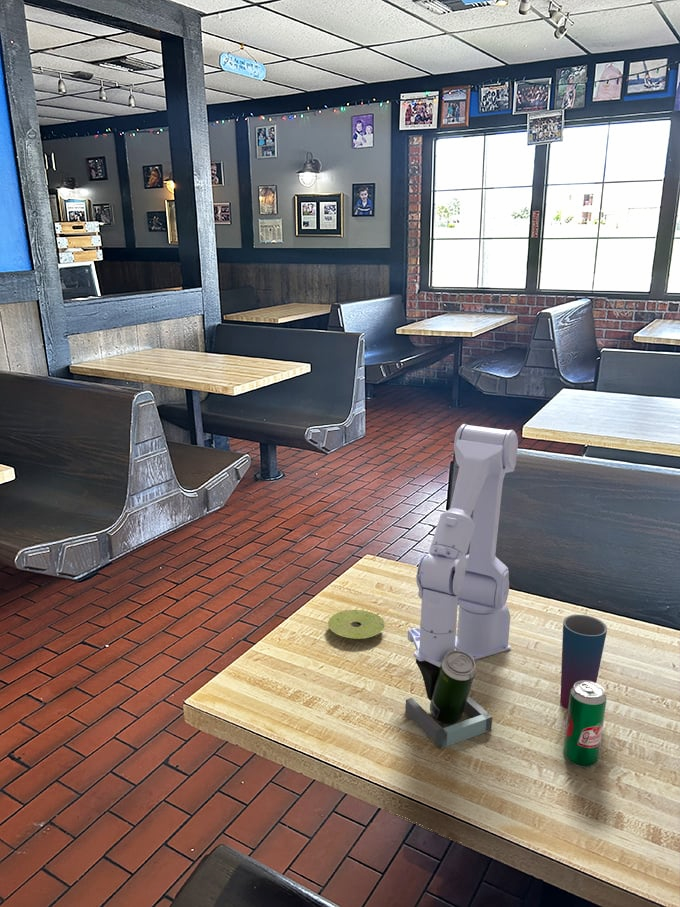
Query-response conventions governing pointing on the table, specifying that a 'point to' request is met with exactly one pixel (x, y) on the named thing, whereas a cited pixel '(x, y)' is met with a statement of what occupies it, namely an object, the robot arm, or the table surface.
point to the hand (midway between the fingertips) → (434, 698)
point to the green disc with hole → (356, 624)
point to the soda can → (584, 723)
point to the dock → (454, 733)
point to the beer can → (452, 687)
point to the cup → (580, 652)
